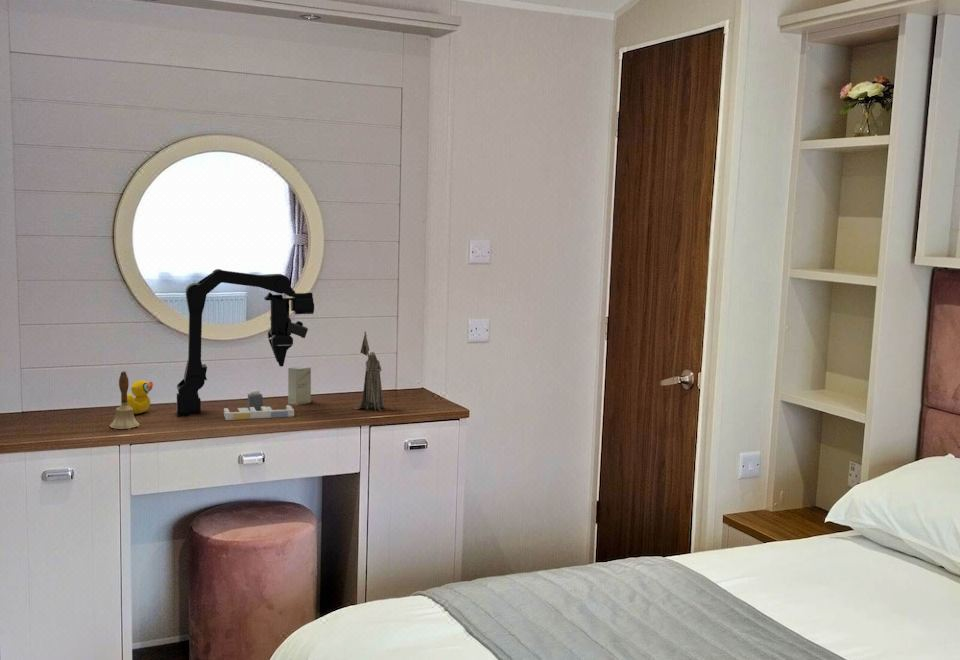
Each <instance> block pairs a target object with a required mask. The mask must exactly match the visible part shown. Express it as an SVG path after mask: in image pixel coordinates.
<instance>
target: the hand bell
mask: <svg viewBox="0 0 960 660" xmlns="http://www.w3.org/2000/svg"><path fill="white" fill-rule="evenodd" d="M129 382H130V381H129V377H128V374H127V371H125V370H124V371H121V372H120V376H119V379H118V387H119V391H120V395H121V398H120V400H121V401H120V406H118V407H116V409H115V416H114V419H113V421H112V422H111V424H109V426H110V427H111V428H118V429H124V428H132V427H136V426H139V425H140V426H141V424H140V423H139V422H138V421H137V419H136V418H135V414H133V408H132V407H130V406H128V403H127V402H128V401H127V394H128V390H129V386H130V385H129V384H130V383H129ZM111 428H110V429H111Z"/></svg>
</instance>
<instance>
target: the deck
mask: <svg viewBox="0 0 960 660" xmlns="http://www.w3.org/2000/svg"><path fill="white" fill-rule="evenodd" d="M265 407H266V409H267V410H273V408H272V407H271V406H265ZM237 410H238V412H249V410H248V407H238V408H237Z"/></svg>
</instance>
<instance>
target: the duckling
mask: <svg viewBox="0 0 960 660" xmlns="http://www.w3.org/2000/svg"><path fill="white" fill-rule="evenodd" d="M153 386H154V383H153V382H152V381H149V382H148V381H146V380H143V379H142V380H141V379H139V380H136V381H135V382H133V383H132V386H131V388H130V390H131V391H130V392H131V393H132V394H131V393H127V401H128V402H127V403H128V406H130V407H132V408H133V414H134V415H138V414H139V415H140V414H143V413H145V412H146V411H147V410H148V408H149V407H150V405H151V398H150V397H149V396H148V394H149V392H150V391H152V389H153ZM134 396H135V397H134Z"/></svg>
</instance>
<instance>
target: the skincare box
mask: <svg viewBox="0 0 960 660" xmlns="http://www.w3.org/2000/svg"><path fill="white" fill-rule="evenodd" d="M311 368H312V367H310V366H304V365H300V366H294V367H288V370H287V373H288V374H287V375H288V376H287V377H288V379H287V382H288V386H287V387H288V388H287V391H288V392H287V396H288V397H287V399H288V400H287V403H288V405H295V406H301V405H305V404H309V403H311V402H312V379H311V378H312V377H311V376H312V375H311V374H312V372H311V371H312V369H311Z"/></svg>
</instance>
